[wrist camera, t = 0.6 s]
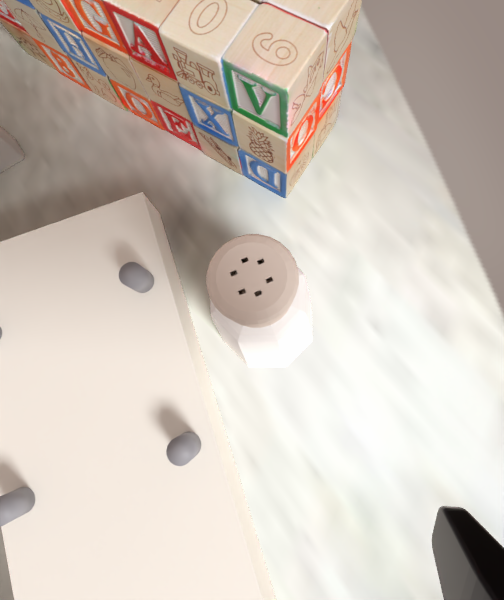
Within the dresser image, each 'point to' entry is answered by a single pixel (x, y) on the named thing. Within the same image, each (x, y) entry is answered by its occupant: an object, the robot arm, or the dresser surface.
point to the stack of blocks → (206, 70)
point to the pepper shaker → (260, 301)
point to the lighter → (9, 151)
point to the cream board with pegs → (113, 423)
